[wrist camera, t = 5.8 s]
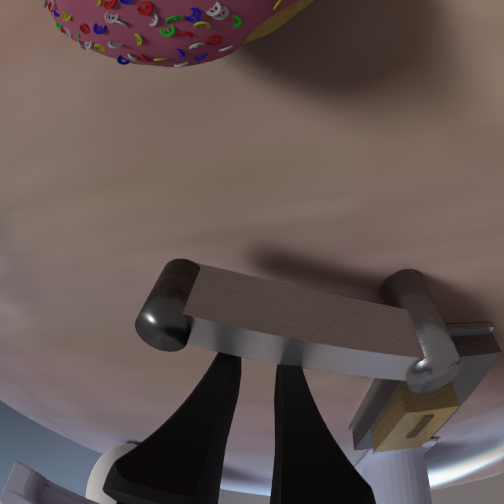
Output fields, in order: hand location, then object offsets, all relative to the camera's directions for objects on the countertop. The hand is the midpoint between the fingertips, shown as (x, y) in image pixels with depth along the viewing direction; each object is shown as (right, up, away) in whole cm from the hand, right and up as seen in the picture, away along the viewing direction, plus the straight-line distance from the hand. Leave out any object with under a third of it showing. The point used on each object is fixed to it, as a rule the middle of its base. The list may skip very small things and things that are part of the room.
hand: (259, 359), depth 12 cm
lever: (+3, +4, +2) cm, 5 cm away
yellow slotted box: (+11, -7, +5) cm, 13 cm away
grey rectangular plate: (+12, -5, +7) cm, 15 cm away
